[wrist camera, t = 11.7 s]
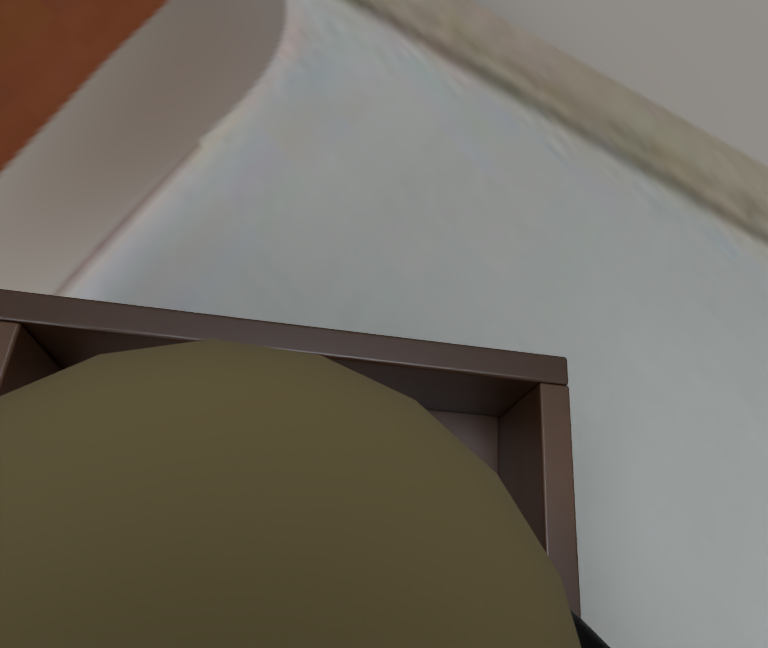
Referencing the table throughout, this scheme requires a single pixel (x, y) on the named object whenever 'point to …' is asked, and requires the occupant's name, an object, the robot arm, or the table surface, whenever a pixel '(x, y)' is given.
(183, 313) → the tray
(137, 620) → the olive pawn figure
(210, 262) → the table surface
